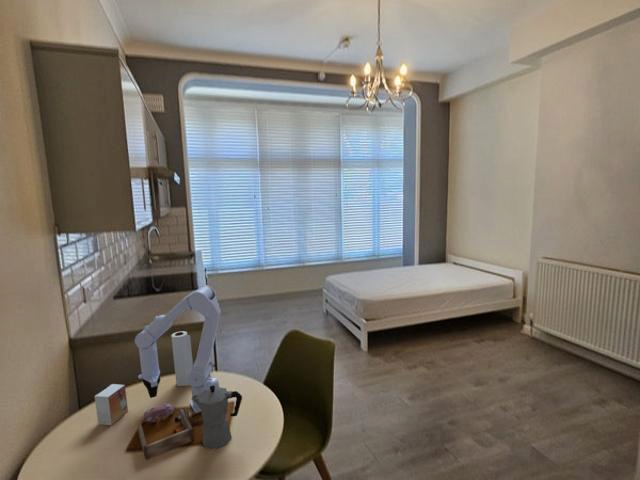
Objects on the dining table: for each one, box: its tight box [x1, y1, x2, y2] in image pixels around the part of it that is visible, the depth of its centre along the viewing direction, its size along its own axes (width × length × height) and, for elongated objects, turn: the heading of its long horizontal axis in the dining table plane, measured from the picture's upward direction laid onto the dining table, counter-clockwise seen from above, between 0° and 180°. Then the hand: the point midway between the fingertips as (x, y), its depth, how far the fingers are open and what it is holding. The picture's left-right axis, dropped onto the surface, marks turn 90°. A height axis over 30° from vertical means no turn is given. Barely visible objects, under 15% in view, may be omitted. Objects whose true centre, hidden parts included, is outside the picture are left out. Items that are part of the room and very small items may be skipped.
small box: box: [94, 383, 129, 426], centre depth 123 cm, size 8×6×10 cm
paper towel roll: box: [171, 330, 194, 387], centre depth 143 cm, size 7×6×21 cm
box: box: [137, 408, 195, 461], centre depth 112 cm, size 14×13×4 cm
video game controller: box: [142, 403, 175, 424], centre depth 121 cm, size 10×5×7 cm, turn 118°
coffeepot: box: [191, 385, 243, 450], centre depth 109 cm, size 15×9×18 cm, turn 94°
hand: (153, 396), depth 129 cm, fingers closed
